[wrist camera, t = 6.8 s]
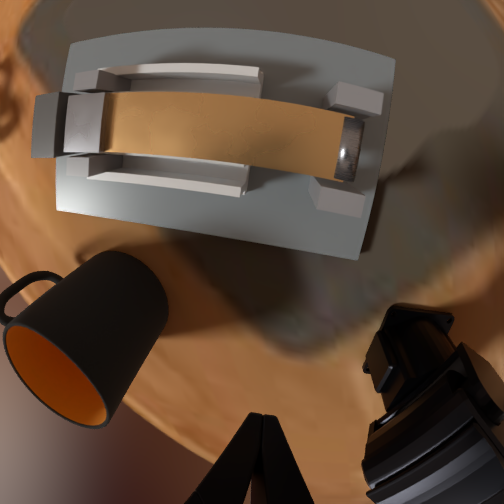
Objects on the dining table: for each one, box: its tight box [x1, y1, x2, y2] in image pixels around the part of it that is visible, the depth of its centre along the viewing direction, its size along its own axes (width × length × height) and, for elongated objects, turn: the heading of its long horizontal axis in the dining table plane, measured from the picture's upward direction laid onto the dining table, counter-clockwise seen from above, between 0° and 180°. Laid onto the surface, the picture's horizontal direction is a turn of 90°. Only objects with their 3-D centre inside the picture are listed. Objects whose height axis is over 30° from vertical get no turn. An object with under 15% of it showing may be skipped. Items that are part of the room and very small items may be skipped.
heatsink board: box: [31, 28, 396, 261], centre depth 14 cm, size 22×13×6 cm, turn 82°
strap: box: [64, 92, 365, 182], centre depth 12 cm, size 15×3×2 cm, turn 82°
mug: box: [0, 251, 168, 429], centre depth 17 cm, size 8×12×10 cm
